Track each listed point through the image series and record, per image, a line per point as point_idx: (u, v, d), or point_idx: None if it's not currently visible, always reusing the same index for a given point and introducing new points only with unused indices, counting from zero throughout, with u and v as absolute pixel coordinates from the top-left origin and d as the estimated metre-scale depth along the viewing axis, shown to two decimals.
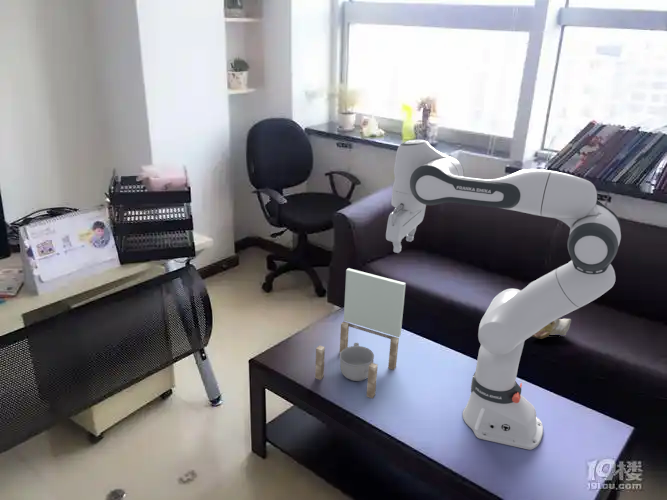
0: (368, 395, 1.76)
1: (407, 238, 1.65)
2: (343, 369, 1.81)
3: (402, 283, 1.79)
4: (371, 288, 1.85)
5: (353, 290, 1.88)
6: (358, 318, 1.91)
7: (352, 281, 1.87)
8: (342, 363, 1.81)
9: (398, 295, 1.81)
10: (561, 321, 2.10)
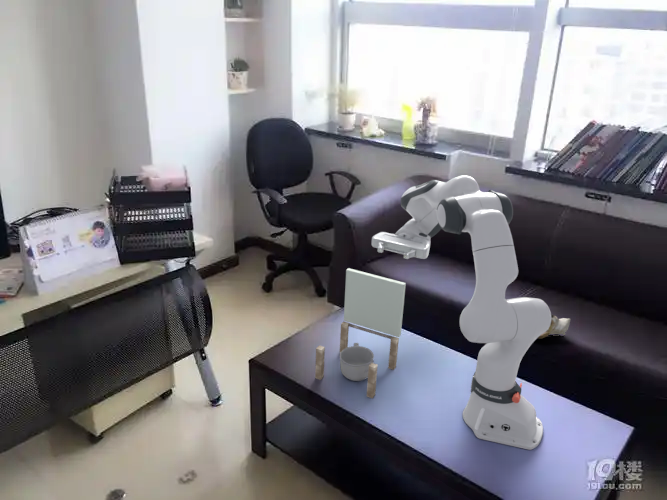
0: (368, 395, 1.76)
1: None
2: (343, 369, 1.81)
3: (402, 283, 1.79)
4: (371, 288, 1.85)
5: (353, 290, 1.88)
6: (358, 318, 1.91)
7: (352, 281, 1.87)
8: (342, 363, 1.81)
9: (398, 295, 1.81)
10: (560, 321, 2.10)
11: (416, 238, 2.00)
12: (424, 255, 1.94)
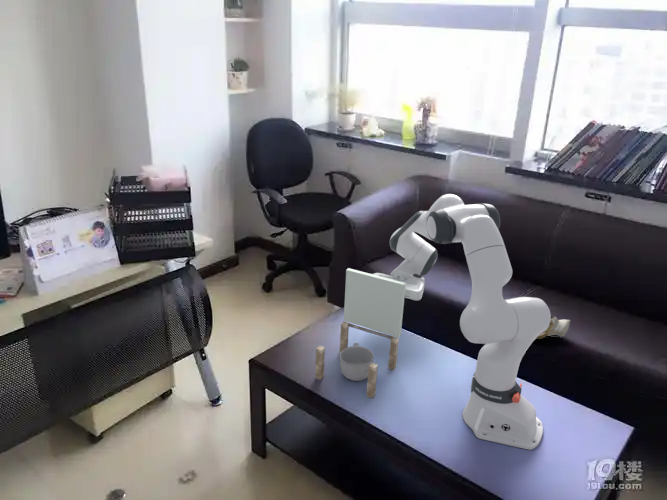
0: (368, 395, 1.76)
1: None
2: (343, 369, 1.81)
3: (402, 283, 1.79)
4: (371, 288, 1.85)
5: (353, 290, 1.88)
6: (358, 318, 1.91)
7: (352, 281, 1.87)
8: (342, 363, 1.81)
9: (398, 295, 1.81)
10: (560, 322, 2.09)
11: (410, 279, 2.03)
12: (418, 297, 1.97)
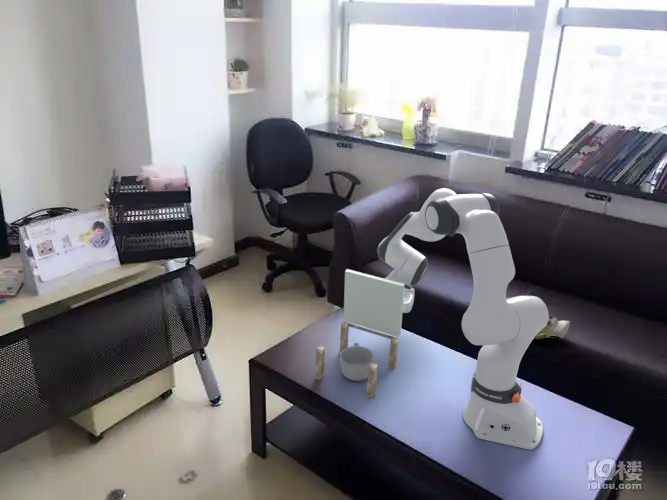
0: (368, 395, 1.76)
1: None
2: (343, 369, 1.81)
3: (401, 284, 1.79)
4: (370, 289, 1.84)
5: (352, 291, 1.88)
6: (358, 318, 1.91)
7: (351, 282, 1.86)
8: (342, 363, 1.81)
9: (397, 296, 1.80)
10: (559, 323, 2.09)
11: None
12: (407, 309, 1.88)
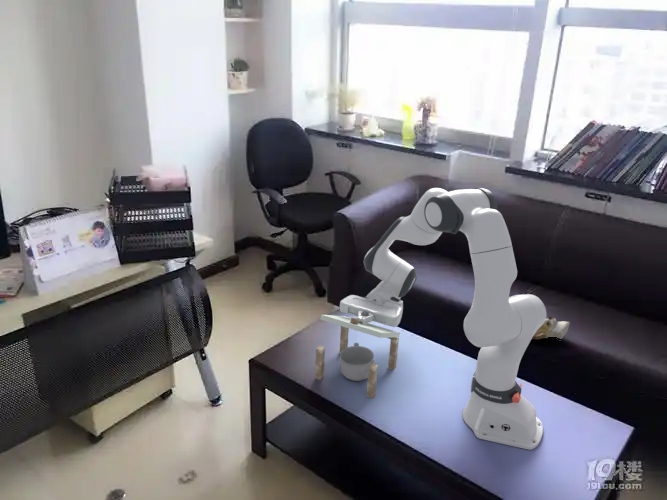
0: (368, 395, 1.76)
1: None
2: (343, 369, 1.81)
3: (378, 334, 1.69)
4: None
5: None
6: None
7: None
8: (342, 363, 1.81)
9: None
10: (559, 323, 2.08)
11: (387, 303, 1.86)
12: (395, 323, 1.80)
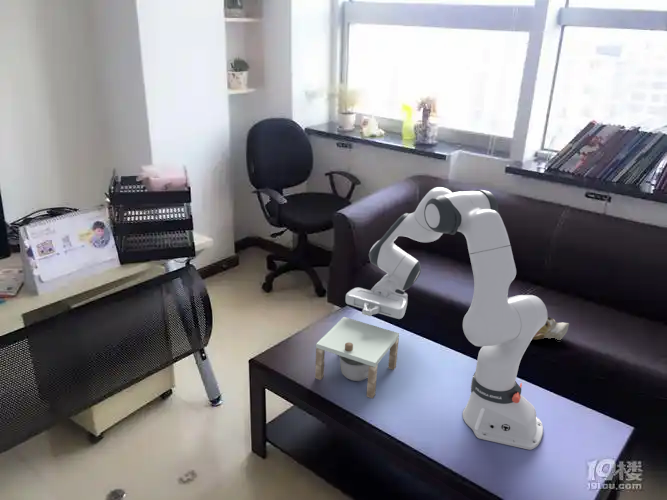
0: (368, 395, 1.76)
1: None
2: (343, 369, 1.81)
3: (372, 364, 1.71)
4: None
5: None
6: None
7: None
8: (342, 363, 1.81)
9: None
10: (558, 324, 2.08)
11: (392, 295, 1.90)
12: (400, 315, 1.84)
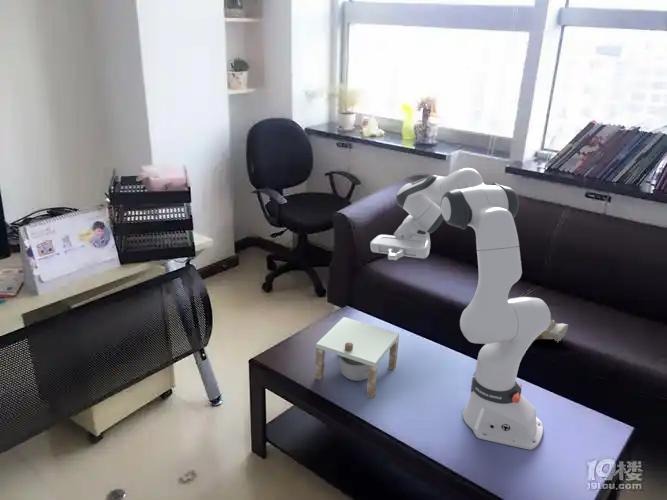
0: (368, 395, 1.76)
1: None
2: (343, 369, 1.81)
3: (372, 364, 1.71)
4: None
5: None
6: None
7: None
8: (342, 363, 1.81)
9: None
10: (557, 325, 2.07)
11: (415, 237, 1.96)
12: (424, 254, 1.91)
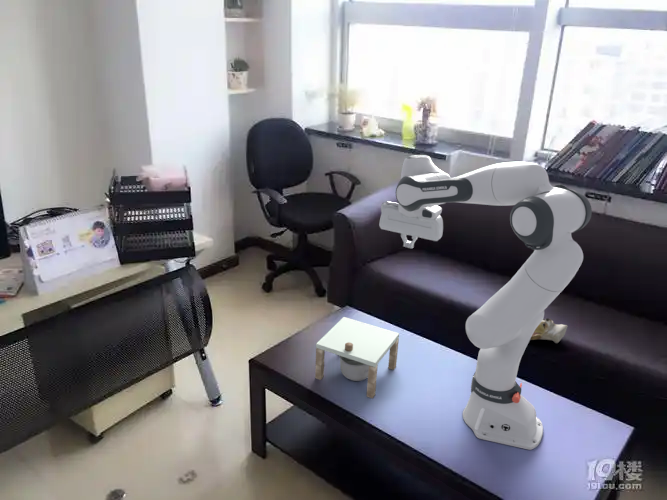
0: (368, 395, 1.76)
1: None
2: (343, 369, 1.81)
3: (372, 364, 1.71)
4: None
5: None
6: None
7: None
8: (342, 363, 1.81)
9: None
10: (556, 326, 2.07)
11: (422, 220, 1.76)
12: (439, 238, 1.78)
